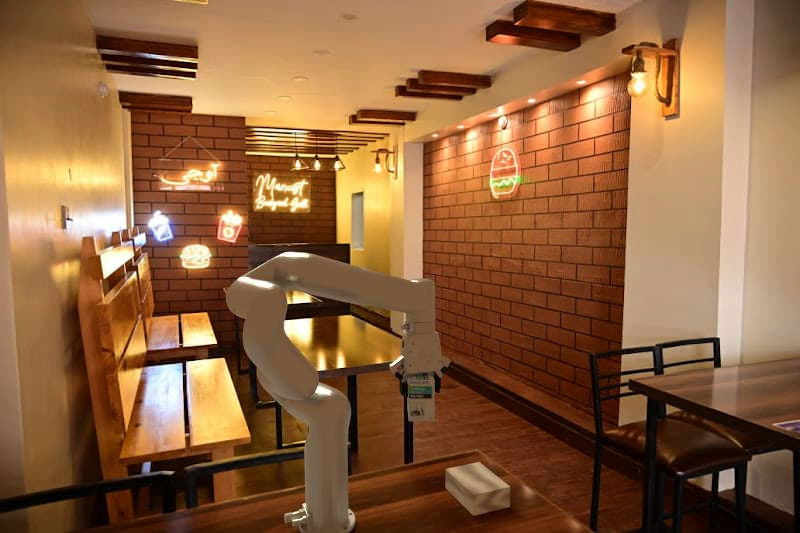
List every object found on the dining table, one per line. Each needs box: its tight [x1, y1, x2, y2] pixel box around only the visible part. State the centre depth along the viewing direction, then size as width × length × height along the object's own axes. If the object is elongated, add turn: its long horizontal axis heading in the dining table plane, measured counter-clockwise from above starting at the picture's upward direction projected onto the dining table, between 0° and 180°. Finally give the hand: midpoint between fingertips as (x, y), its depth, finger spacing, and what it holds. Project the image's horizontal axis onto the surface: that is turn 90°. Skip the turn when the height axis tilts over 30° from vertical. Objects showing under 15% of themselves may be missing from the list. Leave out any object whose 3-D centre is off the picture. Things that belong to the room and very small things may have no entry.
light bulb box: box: [406, 372, 436, 422], centre depth 134 cm, size 11×7×11 cm, turn 1°
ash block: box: [444, 461, 511, 517], centre depth 129 cm, size 10×14×5 cm
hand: (420, 393), depth 134 cm, fingers closed on light bulb box, 8 cm apart
